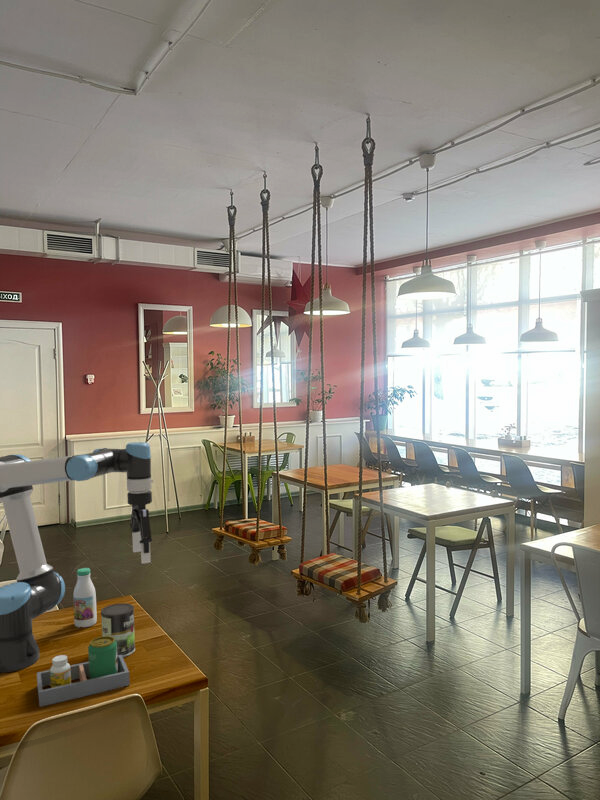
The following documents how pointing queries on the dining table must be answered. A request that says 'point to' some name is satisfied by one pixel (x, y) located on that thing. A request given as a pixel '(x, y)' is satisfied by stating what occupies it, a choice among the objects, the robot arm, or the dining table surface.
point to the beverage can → (102, 657)
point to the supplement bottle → (60, 671)
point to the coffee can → (120, 626)
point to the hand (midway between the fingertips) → (141, 557)
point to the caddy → (80, 683)
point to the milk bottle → (84, 600)
